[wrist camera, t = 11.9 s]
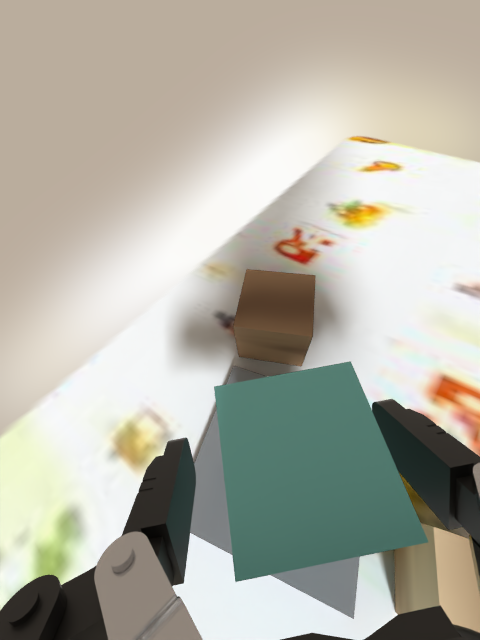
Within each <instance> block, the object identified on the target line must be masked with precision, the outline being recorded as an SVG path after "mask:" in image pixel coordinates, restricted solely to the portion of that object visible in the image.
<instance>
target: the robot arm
mask: <svg viewBox="0 0 480 640" xmlns="http://www.w3.org/2000/svg"><path fill="white" fill-rule="evenodd" d="M372 412H373V414H374V417H375V419H376V421H377V424H378V426H379V428H380V431H381V433H382V435H383V438H384V440H385V442H386V445H387V447H388V449H389V451H390V454H391V456H392V458H393V461H394V463H395V465H396V468H397V470H398V471H399V472H400V473H401V475H402V476H403V477H404V478H405V479H406V481H407V482H408V483H409V484H410V485H411V486H412V488H413V489H414V490H415V491H416V492H417V493H418V495H419V496H420V497H421V498H422V499H423V500H424V502H425V503H426V504H427V505H428V506H429V508H430V509H431V510H432V511H433V512H434V513H435V515H436V516H437V517H438V518H439V519H440V520H441V522H442V523H443V524H444V525H445V526H446V527H447V529H448V530H450V529H455V528H460V527H464V529H465V530H466V531H467V532H468V533H469V543H470V549H471V554H472V559H473V564H474V569H475V575H476V580H477V585H478V590H479V595H480V457H479V456H478V455H477V454H475V453H474V452H473V451H471V450H470V449H469V448H467V447H466V446H465V445H463V444H462V443H461V442H459V441H458V440H457V439H455V438H454V437H453V436H451V435H450V434H448V433H446V432H445V431H444V430H443V429H442V428H440V427H439V426H436V424H435V423H434V422H432V421H431V420H430V419H428V418H427V417H426V416H424V415H422V414H420V413H418V412H415V411H413V410H411V409H405V408H404V407H402V406H401V405H400V404H399V403H397V402H396V401H395V400H393V399H389V400H384V401H378V402H374V403H373V404H372ZM195 488H196V472H195V466H194V462H193V458H192V454H191V450H190V446H189V442H188V439H187V438H182V439H176V440H171V441H168V443H167V446H166V449H165V452H164V455H163V456H158V457H156V458H155V459H154V460H153V461H152V463H151V464H150V465H149V466H148V468H147V470H146V472H145V475H144V478H143V482H142V483H141V486H140V488H139V493H138V494H137V496H136V499H135V502H134V504H133V507H132V510H131V512H130V515H129V518H128V520H127V523H126V526H125V528H124V531H123V534H122V536H121V537H119V538H118V539H117V540H115V541H114V542H113V543H112V544H111V545H110V546H109V547H108V548H107V549H106V550H105V552H104V553H103V555H102V556H101V558H100V560H99V561H98V564H97V566H95V567H94V568H92V569H90V570H89V571H87V572H85V573H83V574H81V575H79V576H78V577H76V578H74V579H72V580H70V581H68V582H66V583H64V584H63V585H61V584H60V582H59V580H58V578H57V577H56V576H54V575H44V576H41V577H39V578H37V579H35V580H33V581H31V582H30V583H28V584H27V585H25V586H24V587H23V588H21V589H20V590H19V591H18V592H17V593H16V594H15V595H14V596H13V597H12V598H11V599H10V600H9V601H8V602H7V603H6V604H5V605H4V607H3V608H2V609H1V611H0V640H202V638H201V636H200V634H199V632H198V630H197V628H196V626H195V624H194V622H193V620H192V618H191V616H190V614H189V612H188V610H187V608H186V607H185V605H184V603H183V601H182V599H181V598H180V597H179V596H178V597H177V596H176V594H175V592H174V590H173V588H172V586H173V585H178V584H183V583H184V576H185V568H186V560H187V552H188V544H189V536H190V528H191V520H192V512H193V504H194V496H195ZM282 640H352V639H346V638H340V637H334V636H328V635H322V634H316V633H309V634H305V635H300V636H296V637H291V638H286V639H282ZM364 640H480V633H479V632H477V631H474V630H472V629H469V628H465V627H462V626H459V625H454V624H452V622H451V621H450V619H449V618H448V616H447V614H446V613H445V611H444V610H443V608H442V607H441V605H439V606H434V607H430V608H425V609H421V610H416V611H411V612H407V613H402V614H399V615H397V616H396V617H395V618H393V619H392V620H391V621H389V622H388V623H386V624H385V625H384V626H382V627H381V628H380V629H378V630H377V631H376V632H374V633H373V634H372V635H370V636H369V637H367V638H366V639H364Z"/></svg>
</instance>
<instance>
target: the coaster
mask: <svg viewBox="0 0 480 640" xmlns="http://www.w3.org/2000/svg"><path fill="white" fill-rule="evenodd" d="M264 377H267V376H264V375H261V374H258V373H255V372H252V371H249V370H246V369H243V368H240V367H237V366H233V368H232V371H231V373H230V376H229V378H228V381H227V383H226V384H232V383H237V382H243V381H248V380H253V379H259V378H264ZM194 466H195V472H196V488H195V496H194V504H193V512H192V520H191V528H190V533H192V534H194V535H196V536H198V537H199V538H201V539H203V540H205V541H207V542H209V543H211V544H213V545H215V546H217V547H218V548H220V549H222V550H224V551H226V552H228V553H230V554H232V545H231V536H230V526H229V517H228V508H227V499H226V490H225V481H224V471H223V462H222V453H221V444H220V435H219V426H218V417H217V408H216V411H215V413H214V416H213V418H212V421H211V423H210V426H209V428H208V431H207V433H206V436H205V438H204V441H203V443H202V446H201V448H200V451H199V453H198V456H197V458H196V461H195V463H194ZM232 555H233V554H232ZM359 557H360V556H359ZM359 557H355V558H350V559H345V560H340V561H335V562H330V563H325V564H320V565H315V566H311V567H306V568H301V569H296V570H291V571H286V572H281V573H276V574H272V575H271V576H273V577H275V578H277V579H279V580H281V581H283V582H285V583H287V584H289V585H290V586H292V587H294V588H296V589H298V590H300V591H302V592H304V593H306V594H308V595H309V596H311V597H313V598H315V599H317V600H319V601H321V602H323V603H325V604H326V605H328V606H330V607H332V608H334V609H336V610H338V611H340V612H342V613H344V614H345V615H347V616H349V617H351V618H353V619H354V610H355V599H356V589H357V578H358V567H359Z"/></svg>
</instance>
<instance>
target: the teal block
mask: <svg viewBox="0 0 480 640" xmlns="http://www.w3.org/2000/svg"><path fill="white" fill-rule="evenodd" d="M214 389H215V398H216V407H217V417H218V426H219V435H220V444H221V453H222V462H223V471H224V481H225V490H226V499H227V508H228V517H229V526H230V536H231V545H232V554H233V563H234V572H235V581H236V582H237V581H242V580H247V579H252V578H257V577H262V576H267V575H272V574H276V573H281V572H286V571H291V570H296V569H301V568H306V567H311V566H315V565H320V564H325V563H330V562H335V561H340V560H345V559H350V558H355V557H359V556H364V555H369V554H374V553H379V552H384V551H389V550H394V549H398V548H403V547H408V546H413V545H418V544H423V543H428V539H427V537H426V535H425V532H424V530H423V528H422V525H421V523H420V521H419V518H418V516H417V514H416V512H415V509H414V507H413V505H412V502H411V500H410V498H409V495H408V493H407V491H406V488H405V486H404V484H403V481H402V479H401V477H400V475H399V472H398V470H397V468H396V465H395V463H394V461H393V458H392V456H391V454H390V451H389V449H388V447H387V445H386V442H385V440H384V438H383V435H382V433H381V431H380V428H379V426H378V424H377V421H376V419H375V417H374V414H373V412H372V410H371V408H370V405H369V403H368V401H367V398H366V396H365V394H364V391H363V389H362V387H361V384H360V382H359V380H358V377H357V375H356V373H355V371H354V368H353V366H352V364H351V362H346V363H340V364H335V365H329V366H324V367H318V368H313V369H308V370H302V371H297V372H291V373H286V374H281V375H275V376H270V377H264V378H259V379H253V380H248V381H243V382H237V383H232V384H226V385H221V386H216V387H214Z"/></svg>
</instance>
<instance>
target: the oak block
mask: <svg viewBox="0 0 480 640" xmlns="http://www.w3.org/2000/svg"><path fill="white" fill-rule="evenodd" d="M421 525H422V528H423V530H424V532H425V535H426V537H427V539H428V543H423V544H418V545H413V546H408V547H403V548H398V549H394V558H395V612H396V613H397V614H398V615H399V614H402V613H407V612H411V611H416V610H421V609H425V608H430V607H434V606H439V605H441V607H442V608H443V610H444V611H445V613H446V614H447V616H448V618H449V619H450V621H451V622H452V624H454V625H459V626H462V627H465V628H469V629H472V630H474V631H477V632H479V633H480V595H479V590H478V585H477V580H476V575H475V569H474V564H473V559H472V554H471V549H470V543H469V539H468V538H465V537H462V536H459V535H456V534H454V533H451V532H448V531H445V530H442V529H439V528H436V527H433V526H430V525H426V524H423V523H421Z"/></svg>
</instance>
